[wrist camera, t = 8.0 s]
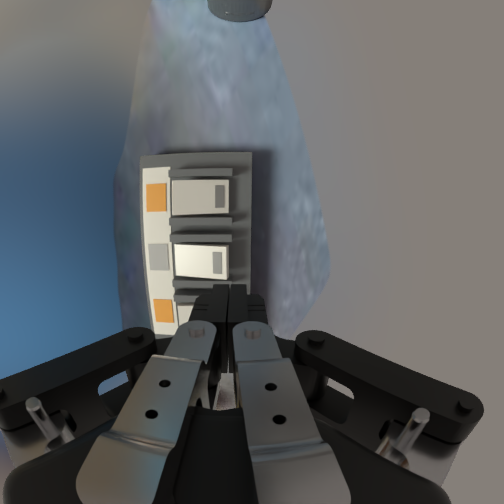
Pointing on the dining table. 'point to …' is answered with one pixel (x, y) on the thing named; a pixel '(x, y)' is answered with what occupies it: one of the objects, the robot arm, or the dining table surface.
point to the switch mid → (202, 260)
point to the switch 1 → (184, 311)
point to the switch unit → (191, 229)
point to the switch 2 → (200, 197)
